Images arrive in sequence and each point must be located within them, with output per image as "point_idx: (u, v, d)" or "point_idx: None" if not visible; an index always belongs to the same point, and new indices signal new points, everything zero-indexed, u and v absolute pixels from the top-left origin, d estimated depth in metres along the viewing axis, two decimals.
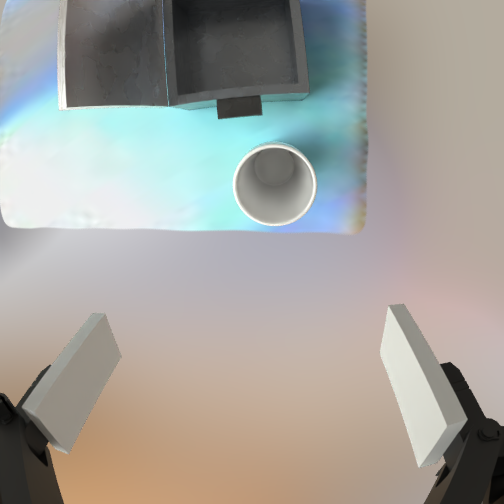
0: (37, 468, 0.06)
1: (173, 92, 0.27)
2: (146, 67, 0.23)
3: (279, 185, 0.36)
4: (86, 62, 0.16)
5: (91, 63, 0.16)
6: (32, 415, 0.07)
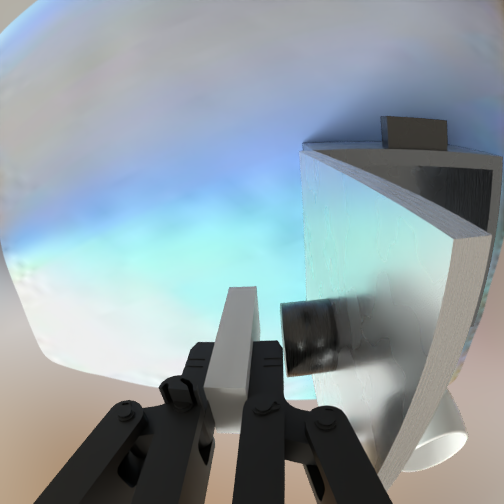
0: (197, 472, 0.07)
1: None
2: None
3: None
4: None
5: None
6: (217, 393, 0.09)
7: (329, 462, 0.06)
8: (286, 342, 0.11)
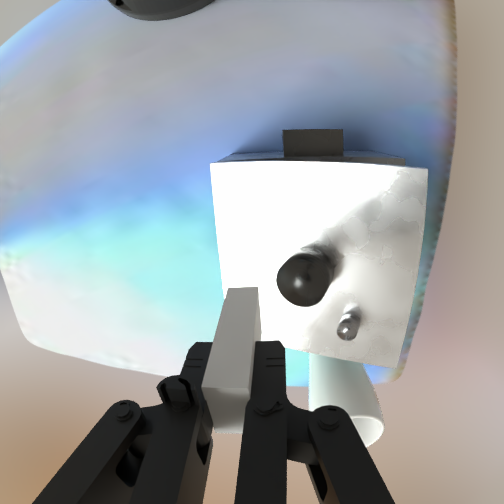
0: (195, 471, 0.07)
1: None
2: None
3: None
4: None
5: None
6: (215, 393, 0.09)
7: (332, 462, 0.06)
8: (320, 273, 0.17)
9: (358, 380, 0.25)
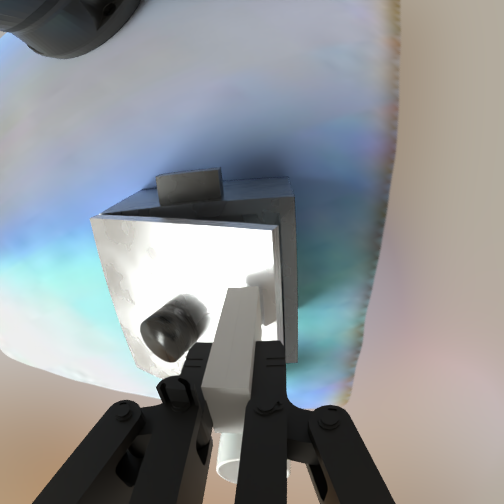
0: (195, 471, 0.07)
1: None
2: None
3: None
4: None
5: None
6: (215, 393, 0.09)
7: (332, 462, 0.06)
8: (170, 336, 0.17)
9: None
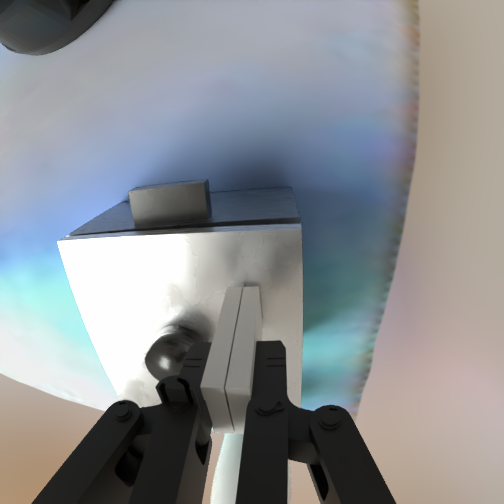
0: (194, 471, 0.07)
1: None
2: None
3: None
4: None
5: None
6: (214, 393, 0.09)
7: (333, 462, 0.06)
8: None
9: None
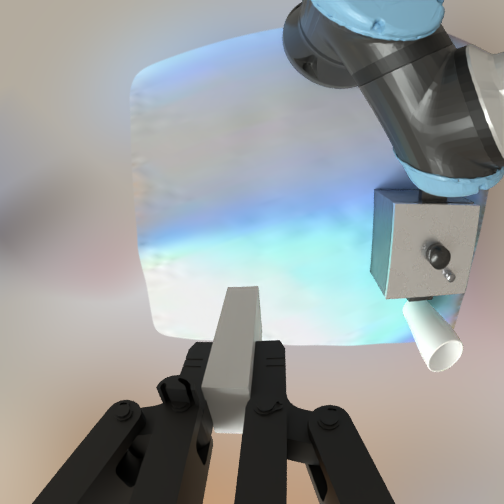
0: (195, 471, 0.07)
1: None
2: None
3: None
4: None
5: None
6: (215, 393, 0.09)
7: (332, 462, 0.06)
8: (449, 252, 0.35)
9: (446, 323, 0.40)
